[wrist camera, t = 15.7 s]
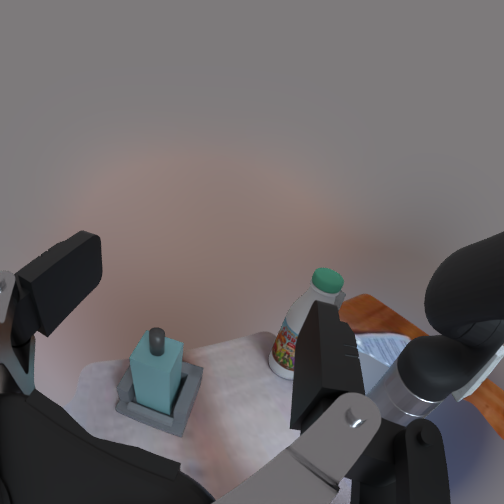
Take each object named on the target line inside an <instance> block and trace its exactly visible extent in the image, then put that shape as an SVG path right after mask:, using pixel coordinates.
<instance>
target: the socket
mask: <svg viewBox="0 0 504 504" xmlns="http://www.w3.org/2000/svg"><path fill="white" fill-rule="evenodd" d="M202 374H203V368H202V367H198V366H195V365H192V364H189V363H186V362H183V361H182V368H181V381H180V390H179V393H178V395H177V398H176V400H175V403H174V406H173V408H172V411H171V413H170V415H167V414H165V413H162V412H159V411H156V410H154V409H151V408H149V407H146V406H144V405H141V404H139V403H137V400H136V395H135V389H134V384H133V378H132V372H131V366H129V368H128V369H127V371H126V373H125V374H124V376H123V378H122V379H121V381H120V383H119V384H118V386H117V391H118V394H119V398H120V401H119V402H118V404H117V406H116V408H115V409H116V411H117V412H119V413H121V414H123V415H126V416H128V417H130V418H132V419H135V420H137V421H139V422H142V423H144V424H146V425H149V426H151V427H154V428H157V429H159V430H162V431H165V432H167V433H170V434H173V435H176V436H179V437H182V435H183V432H184V429H185V426H186V424H187V421H188V418H189V415H190V412H191V410H192V407H193V404H194V401H195V399H196V396H197V393H198V390H199V387H200V384H201V379H202Z"/></svg>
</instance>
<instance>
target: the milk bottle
mask: <svg viewBox="0 0 504 504" xmlns="http://www.w3.org/2000/svg"><path fill="white" fill-rule="evenodd" d="M343 283H344V280H343V278H342V277H341V275H340V274H338V273H337V272H335V271H333V270H331V269H328V268H318V269H316V270H315V272H314V274H313V276H312V280H311V281H310V285H311V286H310V288H309V289H308V290H307V291H306V292H305V293H304V294H303V295H302V296H301V297H300V298H298V299H297V300H296V301H295V302H294V303H293V305H292V306H291V307H290V309H289V311H288V313H287V315H286V317H285V319H284V322H283V324H282V326H281V329H280V331H279V333H278V336H277V338H276V340H275V343H274V345H273V348H272V350H271V352H270V355H269V365H270V367H271V369H272V371H273V372H274V373H275V374H277V375H278V376H280V377H282V378H285V379H289V380H293V377H294V359H295V346H296V341H297V337H298V335H299V332H300V330H301V328H302V326H303V323H304V321H305V319H306V317H307V315H308V313H309V310H310V308H311V306H312V304H313V302H314V301H315V300H318V301H322V302H326V303H330V304H334V302H335V297H336V296H337V295H338V294H339V291H340V290H341V288H342V286H343Z"/></svg>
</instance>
